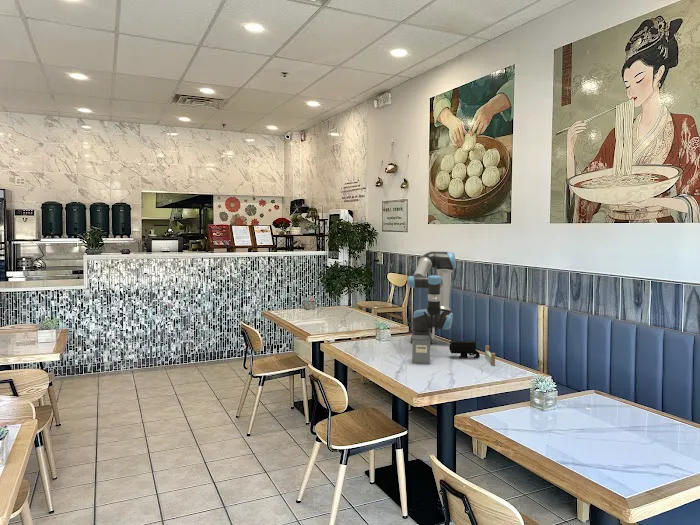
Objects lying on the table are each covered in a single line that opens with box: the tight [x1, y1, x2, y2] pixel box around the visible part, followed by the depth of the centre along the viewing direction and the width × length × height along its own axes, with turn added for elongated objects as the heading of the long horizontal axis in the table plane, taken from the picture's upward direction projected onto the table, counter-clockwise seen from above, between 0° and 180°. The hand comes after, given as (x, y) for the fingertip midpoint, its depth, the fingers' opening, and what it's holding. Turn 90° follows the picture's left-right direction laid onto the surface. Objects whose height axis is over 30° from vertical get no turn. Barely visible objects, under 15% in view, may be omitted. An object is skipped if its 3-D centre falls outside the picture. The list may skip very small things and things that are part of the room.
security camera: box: [448, 340, 481, 359], centre depth 324 cm, size 7×18×10 cm, turn 89°
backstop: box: [484, 345, 496, 367], centre depth 317 cm, size 21×2×7 cm, turn 175°
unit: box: [411, 334, 431, 365], centre depth 314 cm, size 11×11×15 cm
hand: (433, 337), depth 326 cm, fingers closed
